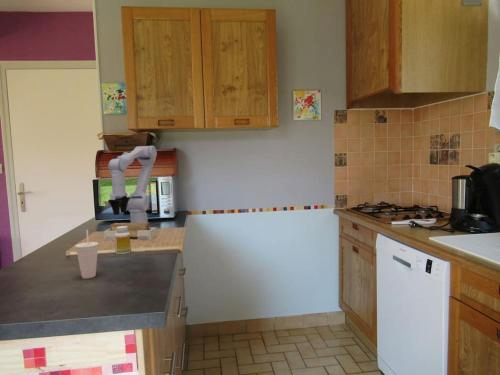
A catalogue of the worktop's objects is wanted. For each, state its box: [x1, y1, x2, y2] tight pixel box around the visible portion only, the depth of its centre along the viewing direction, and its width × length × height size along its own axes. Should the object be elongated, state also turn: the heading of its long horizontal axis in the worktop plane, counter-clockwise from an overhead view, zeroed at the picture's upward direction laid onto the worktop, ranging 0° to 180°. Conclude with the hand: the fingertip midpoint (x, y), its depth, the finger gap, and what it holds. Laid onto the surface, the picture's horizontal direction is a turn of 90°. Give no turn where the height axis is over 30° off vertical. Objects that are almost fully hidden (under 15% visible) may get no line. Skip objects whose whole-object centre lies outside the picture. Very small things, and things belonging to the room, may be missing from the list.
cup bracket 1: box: [103, 227, 117, 241], centre depth 155 cm, size 7×6×4 cm
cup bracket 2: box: [136, 227, 157, 241], centre depth 154 cm, size 7×6×4 cm
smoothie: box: [74, 229, 100, 280], centre depth 102 cm, size 6×6×14 cm
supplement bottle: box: [114, 226, 132, 255], centre depth 130 cm, size 5×5×10 cm
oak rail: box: [109, 222, 151, 237], centre depth 154 cm, size 4×16×5 cm, turn 87°
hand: (120, 213), depth 163 cm, fingers open, 7 cm apart
